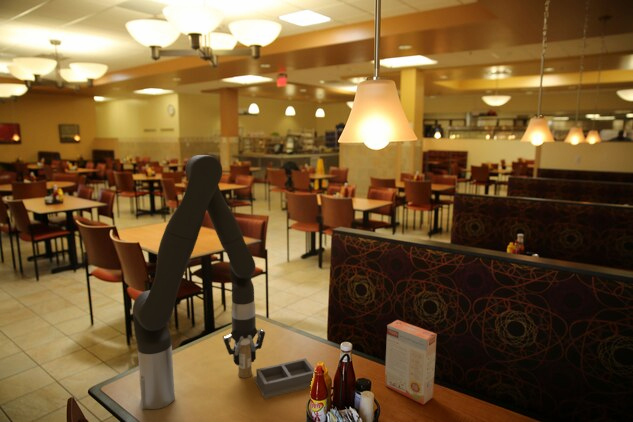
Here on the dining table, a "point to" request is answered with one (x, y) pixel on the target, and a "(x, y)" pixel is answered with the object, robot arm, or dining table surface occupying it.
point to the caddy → (284, 378)
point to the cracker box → (410, 361)
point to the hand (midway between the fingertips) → (244, 362)
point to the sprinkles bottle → (245, 359)
